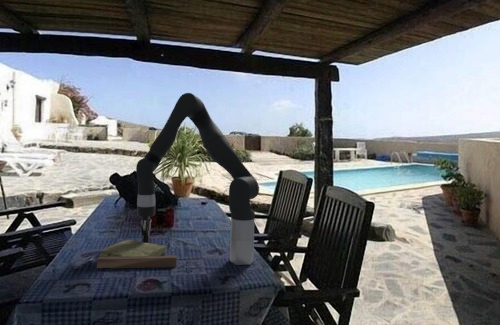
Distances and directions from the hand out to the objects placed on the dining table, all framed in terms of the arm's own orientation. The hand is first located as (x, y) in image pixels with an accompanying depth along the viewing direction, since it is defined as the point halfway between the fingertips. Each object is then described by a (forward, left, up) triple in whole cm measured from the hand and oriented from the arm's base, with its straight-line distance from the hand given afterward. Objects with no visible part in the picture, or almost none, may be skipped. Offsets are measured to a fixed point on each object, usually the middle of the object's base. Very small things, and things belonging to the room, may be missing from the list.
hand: (146, 243), depth 161 cm
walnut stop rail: (-24, 0, -1) cm, 24 cm away
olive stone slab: (-11, +4, -2) cm, 11 cm away
